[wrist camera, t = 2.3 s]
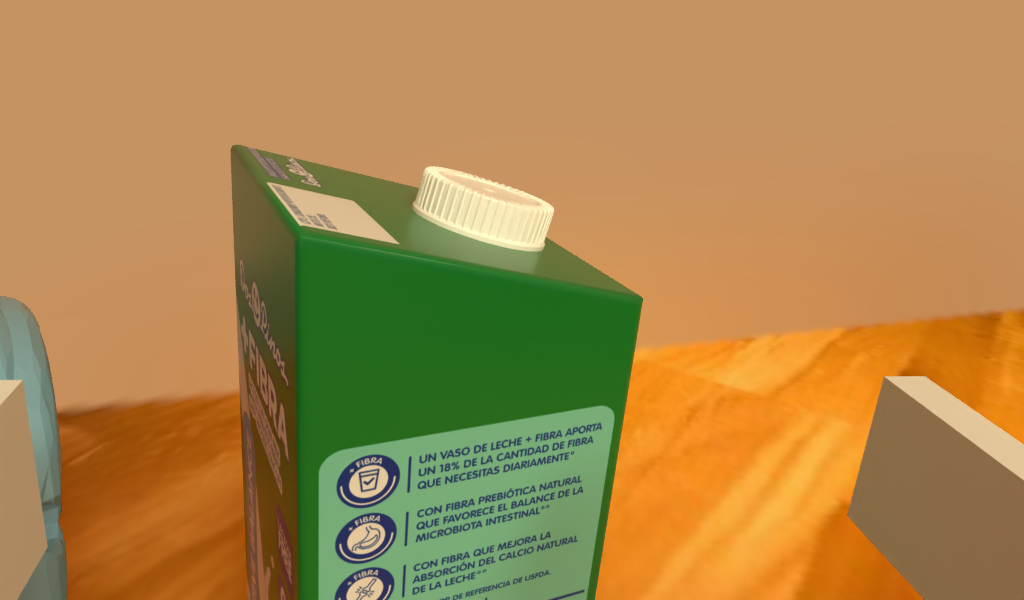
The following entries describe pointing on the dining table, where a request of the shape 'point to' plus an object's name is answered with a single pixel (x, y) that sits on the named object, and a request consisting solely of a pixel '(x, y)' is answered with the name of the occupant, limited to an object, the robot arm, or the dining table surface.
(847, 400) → the dining table surface
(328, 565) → the milk carton
